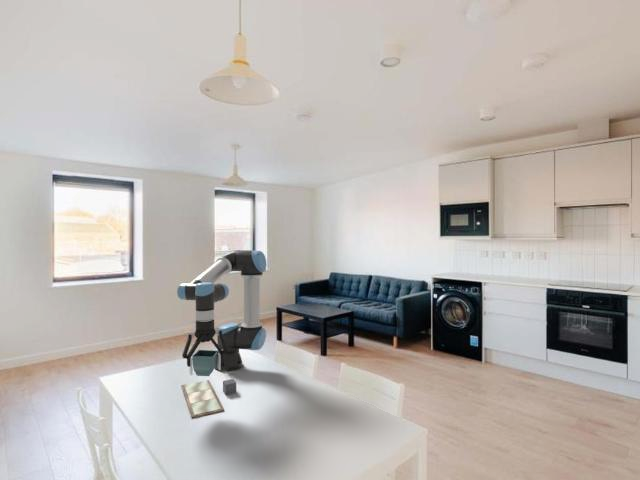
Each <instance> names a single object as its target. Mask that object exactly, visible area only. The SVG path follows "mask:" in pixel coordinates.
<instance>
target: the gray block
mask: <svg viewBox="0 0 640 480" xmlns="http://www.w3.org/2000/svg"><path fill="white" fill-rule="evenodd" d="M222 393H223V394H224V395H225V396H230V395H234V394H237V381H236V380H235V379H234V378H231V379H226V380H222Z"/></svg>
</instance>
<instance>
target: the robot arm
mask: <svg viewBox="0 0 640 480" xmlns="http://www.w3.org/2000/svg"><path fill="white" fill-rule="evenodd" d="M266 270H267V258H266V255H265V253H263V251H262V250H253V249H252V250H243V249H242V250H240V249H239V250H232V251H229V252H228V253H227V252H226V253H225V254H223V255H221V256H220V257H218V258H217V259H216V260H215V263H213V264H212V265H211V266H210V267H208V268H207V269H206V270H204V271H203V272H202V273H201V274H199V275H198V276H196V277H195V278H194V279H192V280H191V281H190V282H185V283H180V284H179V286H178V287H177V291H176V294H177V297H178V298H179V299H180V300H185V301H195V331H194V333H190V332H189V333H187V340H186V343H185V346H184V349H183V351H182V355H181V357H182V358H183V359H186V366H187V367H188V368H189V374H190V376H192V375H194V374H193V371H194V369H193V360H192V356H193V355H194V354H195V353H196V351H197V348H198V346H199V345H200V344H201V343H205V342H209V343H210V341H211V343H212V344H213V346H214V347H215V348H216V349H217V350H216V351H218V357H217V363H216V366H215V368H214V370H216V371H220V372H231V371H236V370H239V369H241V368H242V366H243V359H242V356H241V354H240V350H250V351H259V350H261V349H262V348H263V346H264V344H265V342H266V338H267V331H266V329H265V328H264V327H263V323H262V322H261V321H260V296H261V295H260V293H261V291H260V289H261V287H260V286H261V285H260V279H261V277H262V276H263V273H264V272H266ZM232 272H240V275H241V277H242V278H243V322H241V324H239V323H238V322H237V323H235V322H234V323H233V322H232V323H226V324H223V325H221V326H219V327H218V328H217V330H216V329H215V303H218V302H221V301H223V300H225V299H226V298H227V297H228V296H229V292H230V291H229V290H230V289H229V287H228V286H227V285H226V284H225V283H222V282H220V283H216V282H217V281H218V280H220V279H221V278H222V277H223V276H225V275H228V274H230V273H232ZM215 283H216V284H215ZM215 335H216V336H217V342H216V341H215V339H214V336H215ZM194 337H195V338H196V339H195V341H194V344H192V340H193V339H194ZM191 344H192V347H191ZM190 347H191V348H190Z"/></svg>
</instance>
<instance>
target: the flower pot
mask: <svg viewBox="0 0 640 480" xmlns="http://www.w3.org/2000/svg"><path fill="white" fill-rule="evenodd" d="M217 357H218V350H209V349H208V350H207V349H197V350H196V351H195V352H194V353H193V355H192V366H193V371H194V373H195V375H196V376H197V377H210V376H211V374H212V373H213V372H214V370H215V366H216V363H217Z"/></svg>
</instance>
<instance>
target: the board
mask: <svg viewBox="0 0 640 480" xmlns="http://www.w3.org/2000/svg"><path fill="white" fill-rule="evenodd" d="M181 390H182V392H183V395H184V399H185V402H186V405H187V409H188V412H189V414H190V418H191V419H195V418H200V417H203V416H209V415H212V414H218V413H222V412H225V409H224V406H223V405H222V402H221V400H220V398H219V396H218V395H217V393H216V391H215V389H214V387H213V385H212V383H211V381H210V380H202V381H198V382H197V381H196V382H191V383H187V384H181Z"/></svg>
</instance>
